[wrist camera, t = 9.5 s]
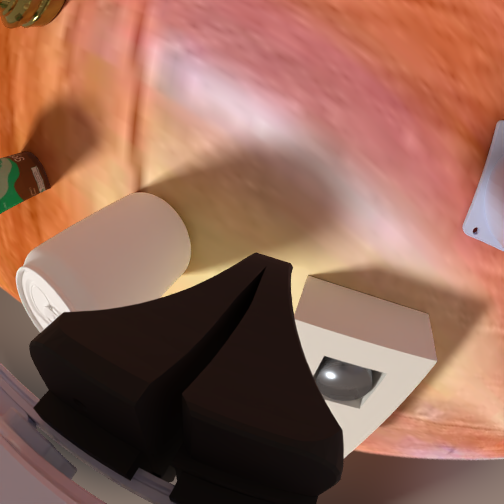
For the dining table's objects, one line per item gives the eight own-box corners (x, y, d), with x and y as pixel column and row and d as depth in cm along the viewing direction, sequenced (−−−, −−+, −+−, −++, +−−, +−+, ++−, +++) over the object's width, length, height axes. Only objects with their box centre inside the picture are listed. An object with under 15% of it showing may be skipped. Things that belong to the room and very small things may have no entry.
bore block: (428, 314, 20) (437, 361, 16) (343, 427, 29) (336, 463, 25) (307, 275, 22) (293, 318, 18) (261, 402, 31) (246, 438, 27)
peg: (382, 331, 21) (381, 375, 18) (362, 363, 24) (357, 405, 20) (334, 316, 22) (326, 359, 18) (319, 350, 24) (308, 392, 21)
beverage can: (132, 171, 23) (8, 232, 13) (211, 228, 23) (104, 329, 13) (110, 241, 27) (17, 311, 17) (175, 292, 27) (92, 385, 17)
